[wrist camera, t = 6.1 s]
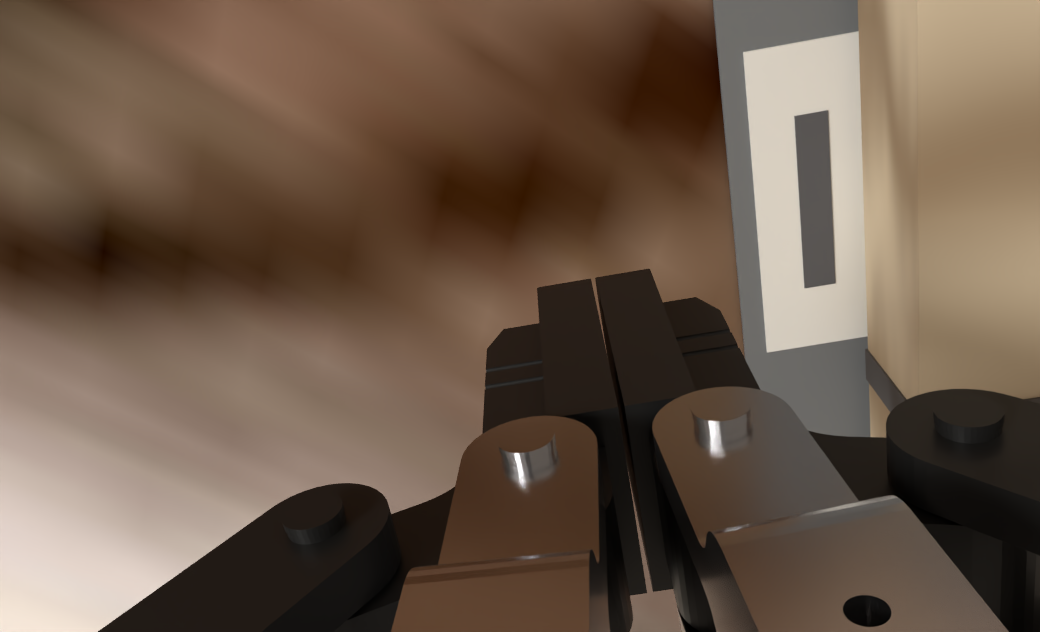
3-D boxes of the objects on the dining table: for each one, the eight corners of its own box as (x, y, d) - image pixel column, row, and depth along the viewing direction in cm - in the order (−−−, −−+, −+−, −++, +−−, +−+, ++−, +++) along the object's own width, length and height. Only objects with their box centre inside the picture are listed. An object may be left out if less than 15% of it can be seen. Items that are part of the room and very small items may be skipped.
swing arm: (807, -751, 14) (911, -972, 11) (1107, -821, 14) (1320, -1072, 10) (855, 506, 24) (919, 620, 20) (1035, 479, 24) (1132, 590, 20)
